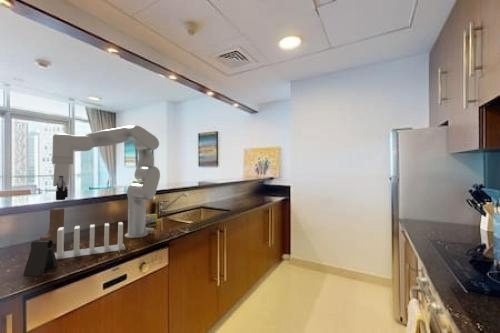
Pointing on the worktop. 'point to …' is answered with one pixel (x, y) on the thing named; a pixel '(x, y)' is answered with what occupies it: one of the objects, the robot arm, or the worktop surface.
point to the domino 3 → (92, 238)
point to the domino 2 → (76, 240)
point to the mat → (86, 251)
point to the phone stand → (40, 258)
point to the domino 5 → (120, 235)
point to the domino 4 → (106, 237)
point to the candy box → (151, 220)
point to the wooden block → (54, 224)
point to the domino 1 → (60, 242)
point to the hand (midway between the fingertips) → (61, 198)
